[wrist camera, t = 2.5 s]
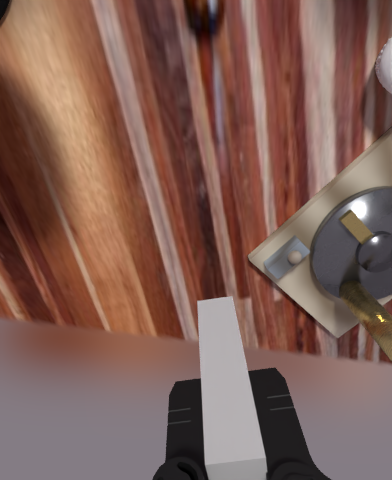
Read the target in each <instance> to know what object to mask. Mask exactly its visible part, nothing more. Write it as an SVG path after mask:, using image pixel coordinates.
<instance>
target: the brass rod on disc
mask: <svg viewBox="0 0 392 480" xmlns="http://www.w3.org/2000/svg"><path fill="white" fill-rule="evenodd" d="M310 263H311V267H312V270H313V273H314V275H315V277H316V278H317V280H318V281H319V282H320V284H321V285H322V286H323V287H324V288H325V290H327V291H328V292H329V293H330V294H332V295H334V296H335V297H337V298H340V299H342V300H343V302H344V303H345V304H346V305H347V307H348V308H349V309H350V310H351V311H352V313H353V314H354V315H355V316H356V318H357V319H358V320H359V321H360V323H361V324H362V325H363V326H364V328H365V329H366V330H367V331H368V333H369V334H370V335H371V336H372V338H373V339H374V340H375V341H376V342H377V344H378V345H379V346H380V347H381V349H382V350H383V351H384V352H385V354H386V355H387V356H388V357H389V359H390V360H391V361H392V315H391V314H390V313H389V312H388V311H387V310H386V309H385V308H384V307H383V306H382V305H381V304H380V303H379V302H378V301H377V300H378V299H381V298H384V297H387V296H389V295H392V186H381V187H374V188H369V189H366V190H363V191H360V192H358V193H356V194H354V195H351V196H350V197H348V198H346V199H345V200H343V201H342V202H341V203H339V204H338V205H337V206H335V207H334V208H333V209H332V210H331V211H330V212H329V213H328V214H327V216H326V217H325V218H324V219H323V221H322V222H321V224H320V225H319V227H318V229H317V231H316V233H315V235H314V238H313V240H312V244H311V249H310Z"/></svg>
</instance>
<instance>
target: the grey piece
mask: <svg viewBox="0 0 392 480" xmlns="http://www.w3.org/2000/svg"><path fill="white" fill-rule="evenodd" d="M375 66H376V68H375V70H376V75H377V77H378V80H379V82H380V83H381V84H382V86H383V87H384V88H385V89H386V90H387V91H388V92H389V93H391V94H392V37H391V38H390V39H388V41H387V43H386V44H385V45H384V46H383V48H382V50H381V52H380V53H379V55H378V57H377V60H376V65H375Z"/></svg>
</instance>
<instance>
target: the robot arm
mask: <svg viewBox="0 0 392 480" xmlns="http://www.w3.org/2000/svg"><path fill="white" fill-rule="evenodd" d="M198 323H199V345H200V367H201V378H200V379H192V380H185V381H177V382H175V384H174V387H173V388H172V391H171V393H170V395H169V413H168V426H167V443H166V445H167V446H166V461H165V463H164V464H163V465H161V466H160V467H159V469H158V470H157V472H156V474H155V475H154V477H153V480H331V479H330V478H328V477H326V476H325V475H324V474H323V473H322V472H321V471H320V470H319V469H318V468H317V467H316V465H315V464H314V462H313V461H312V458H311V456H310V454H309V451H308V448H307V445H306V442H305V438H304V435H303V432H302V429H301V426H300V423H299V420H298V417H297V414H296V411H295V409H294V405H293V402H292V399H291V396H290V393H289V390H288V386H287V383H286V380H285V378H284V377H283V376H282V375H281V374H280V373H279V372H278V371H277V369H276V368H268V369H260V370H254V371H248V370H247V365H246V360H245V355H244V350H243V345H242V341H241V336H240V331H239V326H238V321H237V317H236V312H235V307H234V302H233V297H232V296H230V297H223V298H217V299H210V300H203V301H198Z"/></svg>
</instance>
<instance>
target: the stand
mask: <svg viewBox="0 0 392 480" xmlns="http://www.w3.org/2000/svg"><path fill="white" fill-rule="evenodd" d="M381 186H392V127H391V128H390V129H389V130H388V131H387V132H385V133H384V134H383V135H382V136H381V137H380V138H379V139H378V140H376V141H375V142H374V143H373V144H372V145H371V146H370V147H369V148H368V149H366V150H365V151H364V152H363V153H362V154H361V155H360V156H359V157H357V158H356V159H355V160H354V161H353V162H352V163H351V164H350V165H349V166H347V167H346V168H345V169H344V170H343V171H342V172H341V173H340V174H338V175H337V176H336V177H335V178H334V179H333V180H332V181H331V182H330V183H328V184H327V185H326V186H325V187H324V188H323V189H322V190H321V191H319V192H318V193H317V194H316V195H315V196H314V197H313V198H312V199H311V200H309V201H308V202H307V203H306V204H305V205H304V206H303V207H302V208H300V209H299V210H298V211H297V212H296V213H295V214H294V215H293V216H291V217H290V218H289V219H288V220H287V221H286V222H285V223H284V224H283V225H281V226H280V227H279V228H278V229H277V230H276V231H275V232H274V233H272V234H271V235H270V236H269V237H268V238H267V239H266V240H265V241H264V242H262V243H261V244H260V245H259V246H258V247H257V248H256V249H255V250H253V251H252V252H251V253H250V254H249V255H248V258H249V260H250V261H251V262H252V263H253V264H254V265H255V266H256V267H257V268H259V269H260V270H261V271H262V272H263V273H264V274H265V275H266V276H268V277H269V278H270V279H271V280H272V281H273V282H274V283H275V284H277V285H278V286H279V287H280V288H281V289H282V290H283V291H284V292H286V293H287V294H288V295H289V296H290V297H291V298H292V299H294V300H295V301H296V302H297V303H298V304H299V305H300V306H301V307H303V308H304V309H305V310H306V311H307V312H308V313H309V314H310V315H312V316H313V317H314V318H315V319H316V320H317V321H318V322H319V323H321V324H322V325H323V326H324V327H325V328H326V329H327V330H328V331H330V332H331V333H332V334H333V335H334V336H335V337H336V338H339V337H340V336H342V335H343V334H344V333H346V332H347V331H348V330H350V329H351V328H353V327H354V326H355V325H357V324H358V323H359V322H360V321H359V320H358V319H357V318H356V316H355V315H354V314H353V313H352V311H351V310H350V309H349V308H348V307H347V305H346V304H345V303H344V302H343V300H342V299H340V298H337V297H335V296H334V295H332V294H330V293H329V292H328V291H327V290H325V288H324V287H323V286H322V285H321V284H320V282H319V281H318V280H317V278H316V277H315V275H314V273H313V270H312V267H311V263H310V249H311V244H312V240H313V238H314V235H315V233H316V231H317V229H318V227H319V225H320V224H321V222H322V221H323V219H324V218H325V217H326V216H327V214H328V213H329V212H330V211H331V210H332V209H333V208H334V207H335V206H337V205H338V204H339V203H341V202H342V201H343V200H345V199H346V198H348V197H350V196H351V195H354V194H356V193H358V192H360V191H363V190H366V189H369V188H374V187H381ZM391 299H392V295H389V296H387V297H384V298H381V299H378V300H377V301H378V302H379V303H380V304H381V305H382V306H383V305H384V304H385V303H387V302H388V301H390V300H391Z"/></svg>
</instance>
